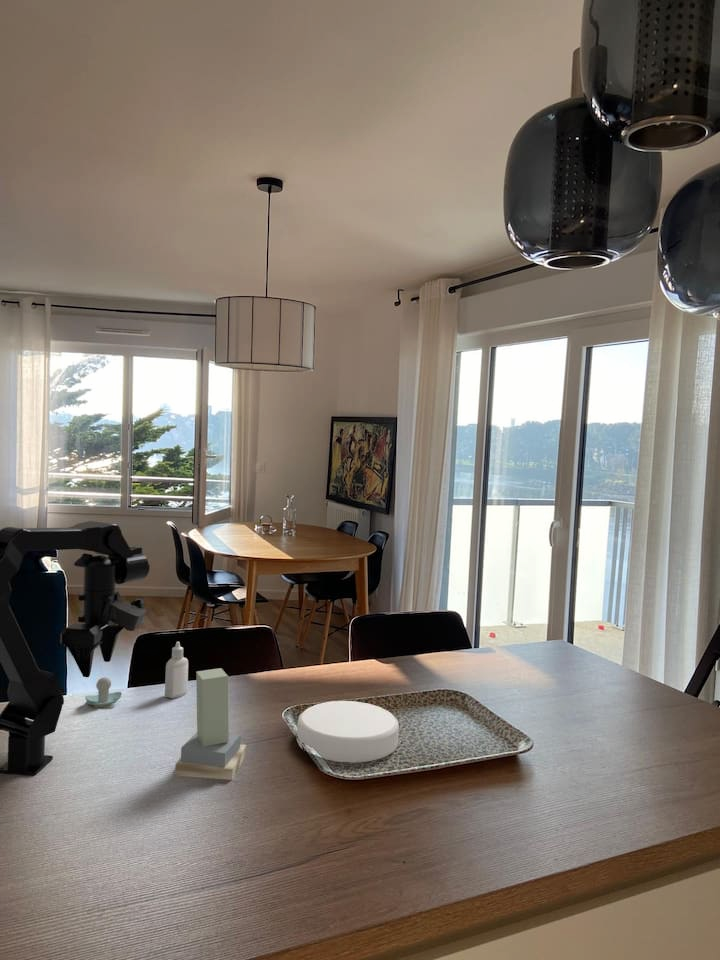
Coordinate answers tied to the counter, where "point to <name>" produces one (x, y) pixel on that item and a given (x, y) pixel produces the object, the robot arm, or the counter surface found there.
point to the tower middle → (210, 751)
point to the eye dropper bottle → (176, 674)
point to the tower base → (212, 767)
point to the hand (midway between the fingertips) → (97, 669)
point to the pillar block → (212, 707)
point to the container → (348, 731)
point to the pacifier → (103, 694)
